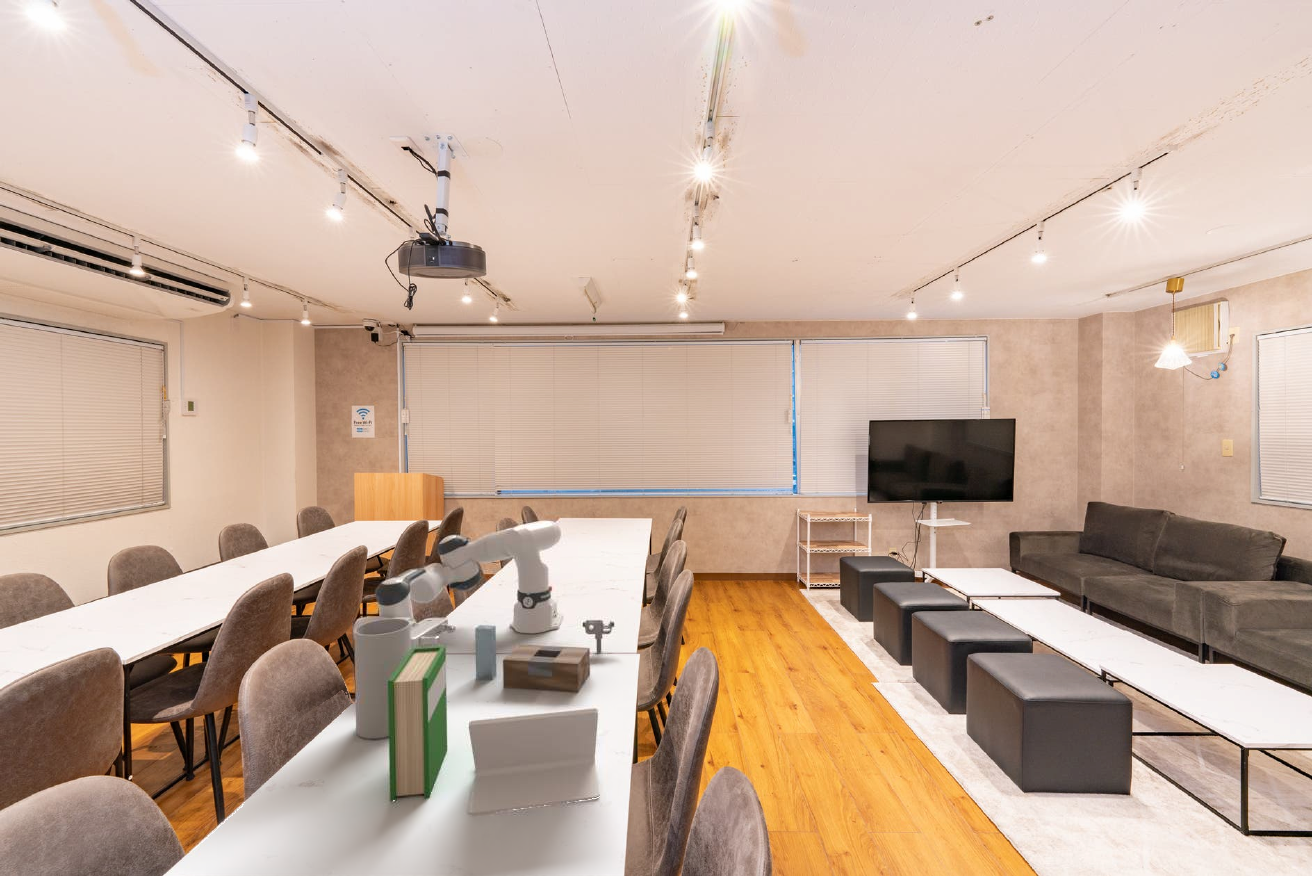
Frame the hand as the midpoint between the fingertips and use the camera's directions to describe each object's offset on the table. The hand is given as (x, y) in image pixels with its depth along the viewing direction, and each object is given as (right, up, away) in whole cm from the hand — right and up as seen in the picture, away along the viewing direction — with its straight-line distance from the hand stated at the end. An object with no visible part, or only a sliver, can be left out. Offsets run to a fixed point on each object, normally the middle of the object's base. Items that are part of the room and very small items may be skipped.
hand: (446, 634), depth 174 cm
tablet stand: (+38, -13, -53) cm, 66 cm away
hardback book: (+13, -13, -50) cm, 53 cm away
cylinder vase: (-4, -13, -30) cm, 33 cm away
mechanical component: (+44, -12, +18) cm, 49 cm away
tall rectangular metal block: (+12, -12, -1) cm, 17 cm away
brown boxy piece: (+31, -12, -5) cm, 34 cm away
